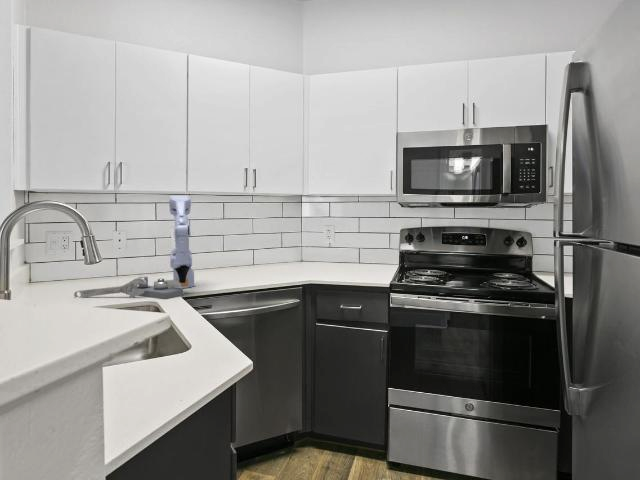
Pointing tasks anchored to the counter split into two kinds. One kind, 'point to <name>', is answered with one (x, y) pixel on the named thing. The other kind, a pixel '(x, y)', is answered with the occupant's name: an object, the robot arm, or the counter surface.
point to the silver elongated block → (169, 283)
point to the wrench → (115, 289)
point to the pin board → (161, 292)
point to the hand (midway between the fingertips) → (182, 282)
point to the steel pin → (143, 286)
